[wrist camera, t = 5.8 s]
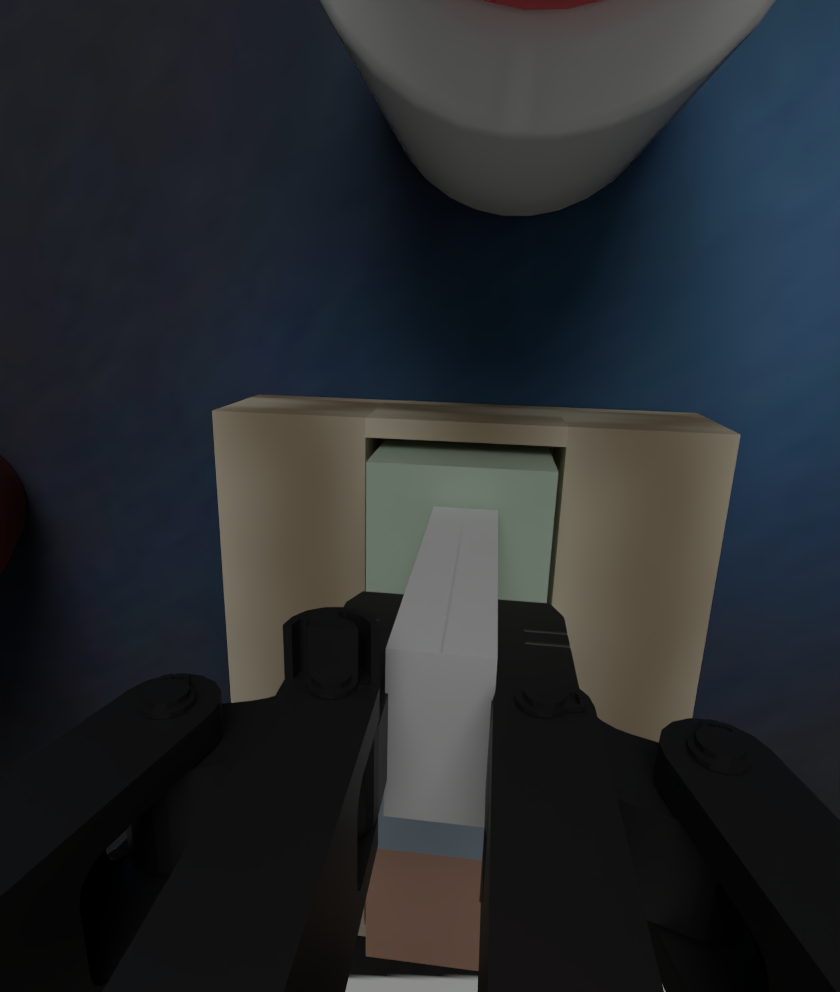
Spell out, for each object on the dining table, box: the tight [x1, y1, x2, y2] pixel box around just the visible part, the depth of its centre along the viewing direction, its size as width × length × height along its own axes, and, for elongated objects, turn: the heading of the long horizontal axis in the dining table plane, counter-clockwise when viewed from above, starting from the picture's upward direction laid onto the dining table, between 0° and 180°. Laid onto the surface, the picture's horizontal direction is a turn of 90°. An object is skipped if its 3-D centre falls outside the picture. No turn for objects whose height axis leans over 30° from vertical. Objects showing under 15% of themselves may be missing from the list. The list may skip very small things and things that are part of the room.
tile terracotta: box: [366, 848, 482, 971], centre depth 20 cm, size 4×4×3 cm
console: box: [212, 395, 740, 936], centre depth 20 cm, size 13×17×3 cm
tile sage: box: [366, 438, 558, 603], centre depth 17 cm, size 4×4×3 cm
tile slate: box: [378, 794, 484, 860], centre depth 17 cm, size 4×4×3 cm
